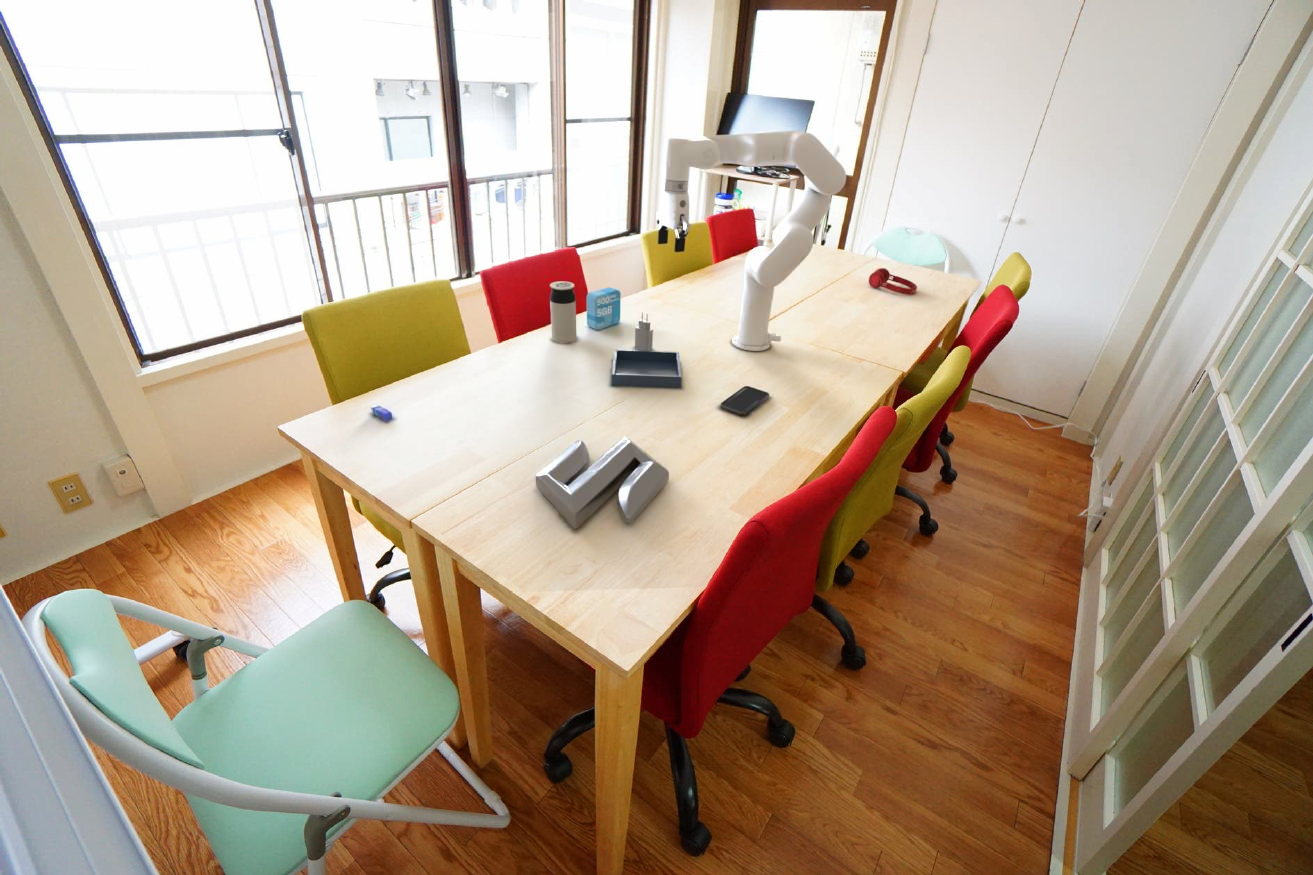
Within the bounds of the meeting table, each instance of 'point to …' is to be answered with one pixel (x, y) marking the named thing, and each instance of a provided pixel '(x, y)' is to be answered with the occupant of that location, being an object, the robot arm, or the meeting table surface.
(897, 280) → the headphones
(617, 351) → the tray
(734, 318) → the meeting table surface
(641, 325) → the power adapter
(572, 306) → the travel mug
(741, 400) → the phone
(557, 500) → the emblem
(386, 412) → the eraser
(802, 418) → the meeting table surface
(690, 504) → the meeting table surface
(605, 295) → the data package
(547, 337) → the meeting table surface
